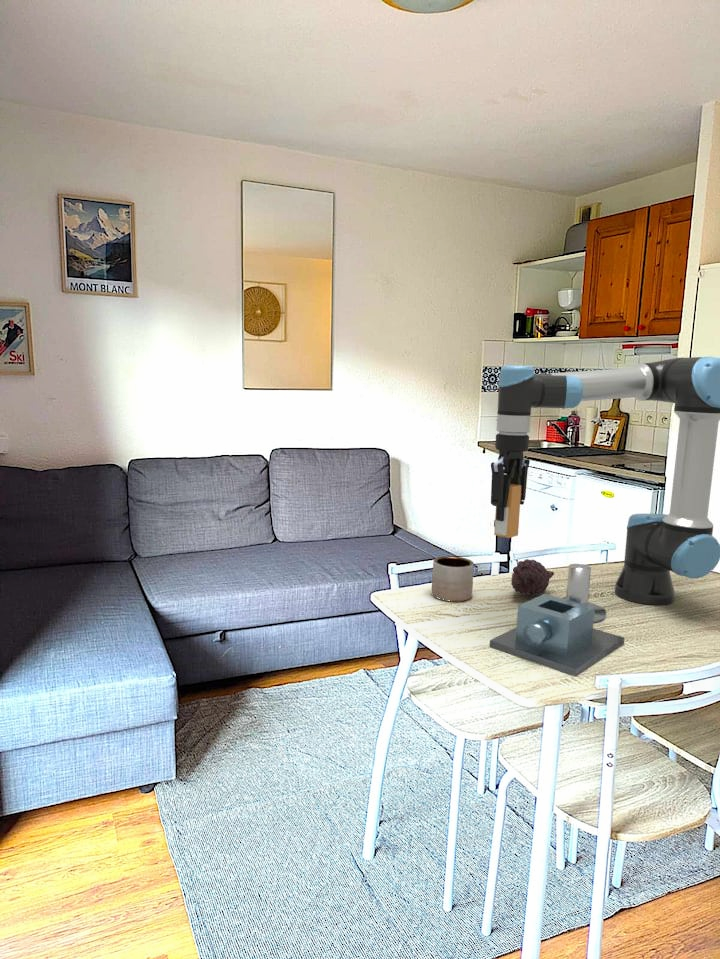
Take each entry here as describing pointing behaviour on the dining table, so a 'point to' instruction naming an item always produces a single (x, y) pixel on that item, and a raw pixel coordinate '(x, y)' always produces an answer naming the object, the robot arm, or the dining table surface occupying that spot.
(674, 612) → the dining table surface
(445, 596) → the planter
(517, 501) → the orange rectangular block
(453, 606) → the dining table surface
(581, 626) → the grey square hole fixture
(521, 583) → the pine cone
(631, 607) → the dining table surface
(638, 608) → the dining table surface
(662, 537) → the robot arm
